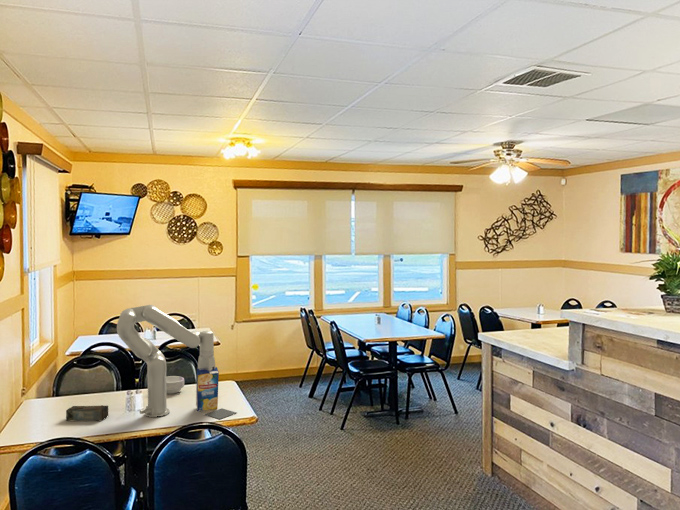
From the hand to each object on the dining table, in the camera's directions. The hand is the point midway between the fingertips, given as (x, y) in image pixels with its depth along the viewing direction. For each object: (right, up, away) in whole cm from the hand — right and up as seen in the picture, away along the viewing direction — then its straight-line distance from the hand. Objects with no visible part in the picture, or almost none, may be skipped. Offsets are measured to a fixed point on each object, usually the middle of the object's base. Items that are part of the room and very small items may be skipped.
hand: (207, 386), depth 298 cm
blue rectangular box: (0, -12, +1) cm, 12 cm away
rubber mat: (+10, -13, -9) cm, 18 cm away
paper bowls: (-30, -11, +31) cm, 45 cm away
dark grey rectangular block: (-59, -13, -17) cm, 62 cm away
